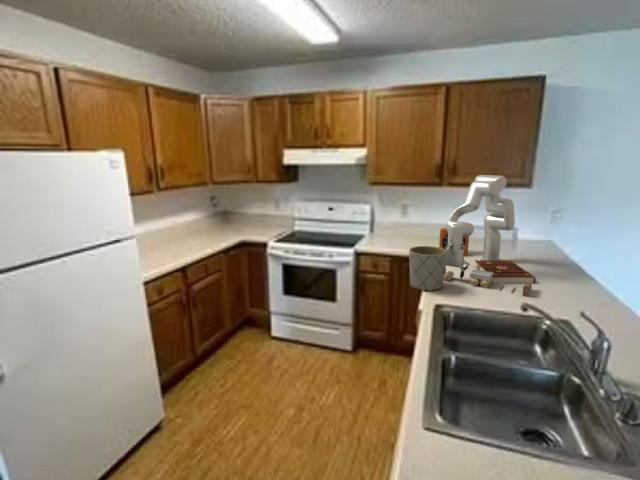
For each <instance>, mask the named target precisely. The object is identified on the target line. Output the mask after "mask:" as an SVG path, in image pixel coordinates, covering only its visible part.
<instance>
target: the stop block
mask: <svg viewBox="0 0 640 480" xmlns="http://www.w3.org/2000/svg"><path fill="white" fill-rule="evenodd" d="M523 284H524V285H523V287H522V297H525V296H526V297H525V298H528V297H529V295H530V293H531V291H532V287H533V285H532V284H533V283H532V280H527V281H526V282H525V283H523Z"/></svg>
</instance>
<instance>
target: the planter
mask: <svg viewBox="0 0 640 480" xmlns="http://www.w3.org/2000/svg"><path fill="white" fill-rule="evenodd" d="M408 250H409V251H408V254H409V255H408V257H409V259H408V260H409V284H410V287H411V288H415V289H418V290H422V291H428V292H434V291H436V290H438V289H440V288H442V287H443V286H444V271H445V267H446V266H445V264H446V255H447V251H446V250H445V249H443V248H439V246H433V245H432V246H431V245H419V246H418V245H417V246H412V247H411V248H409V249H408Z"/></svg>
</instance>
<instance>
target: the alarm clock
mask: <svg viewBox="0 0 640 480" xmlns="http://www.w3.org/2000/svg"><path fill="white" fill-rule="evenodd" d="M438 239H439V241H438V243H439V244H438V247H439V248H443V249H445V250H446V248H447V245H448V231H447V226H443V227H440V228H439V237H438ZM469 241H470V236H463V238H462V245H465V248H462V249H463V250H464V257H467V256H468V254H469Z"/></svg>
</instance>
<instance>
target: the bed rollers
mask: <svg viewBox="0 0 640 480" xmlns="http://www.w3.org/2000/svg"><path fill="white" fill-rule="evenodd" d="M491 283H492V279H491V280H490V281H487V280H481V279H474V278H471V280H470V285H471V286H472V287H477V286H478V285H479V284H480V286H481V288H483V289H486V288H488V287H489V286H490V285H491ZM504 287H505V285H504V284H502V285H501V287H500V288H499V289H498V291H499V292H501V291H502V289H503V288H504ZM516 288H517V287H516V286H513V288H512V290H511V291H510V294H513V293H514V292H515V289H516Z"/></svg>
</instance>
